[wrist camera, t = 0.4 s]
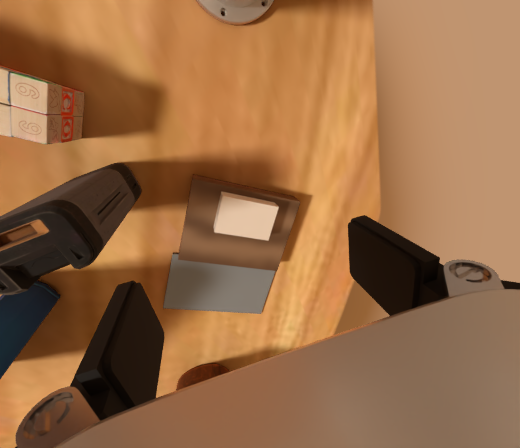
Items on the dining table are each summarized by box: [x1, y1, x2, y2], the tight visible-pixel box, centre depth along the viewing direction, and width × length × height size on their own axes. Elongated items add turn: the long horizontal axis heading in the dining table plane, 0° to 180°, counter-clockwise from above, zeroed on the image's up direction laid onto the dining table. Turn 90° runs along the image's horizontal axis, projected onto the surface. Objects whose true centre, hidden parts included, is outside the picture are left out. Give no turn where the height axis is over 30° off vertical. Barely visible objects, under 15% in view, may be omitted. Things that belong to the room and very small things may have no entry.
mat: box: [163, 253, 275, 314], centre depth 49 cm, size 12×20×1 cm, turn 74°
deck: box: [178, 175, 300, 271], centre depth 44 cm, size 14×18×3 cm
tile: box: [214, 191, 279, 241], centre depth 40 cm, size 6×9×2 cm, turn 74°
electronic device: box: [0, 163, 141, 295], centre depth 29 cm, size 9×6×20 cm, turn 109°
